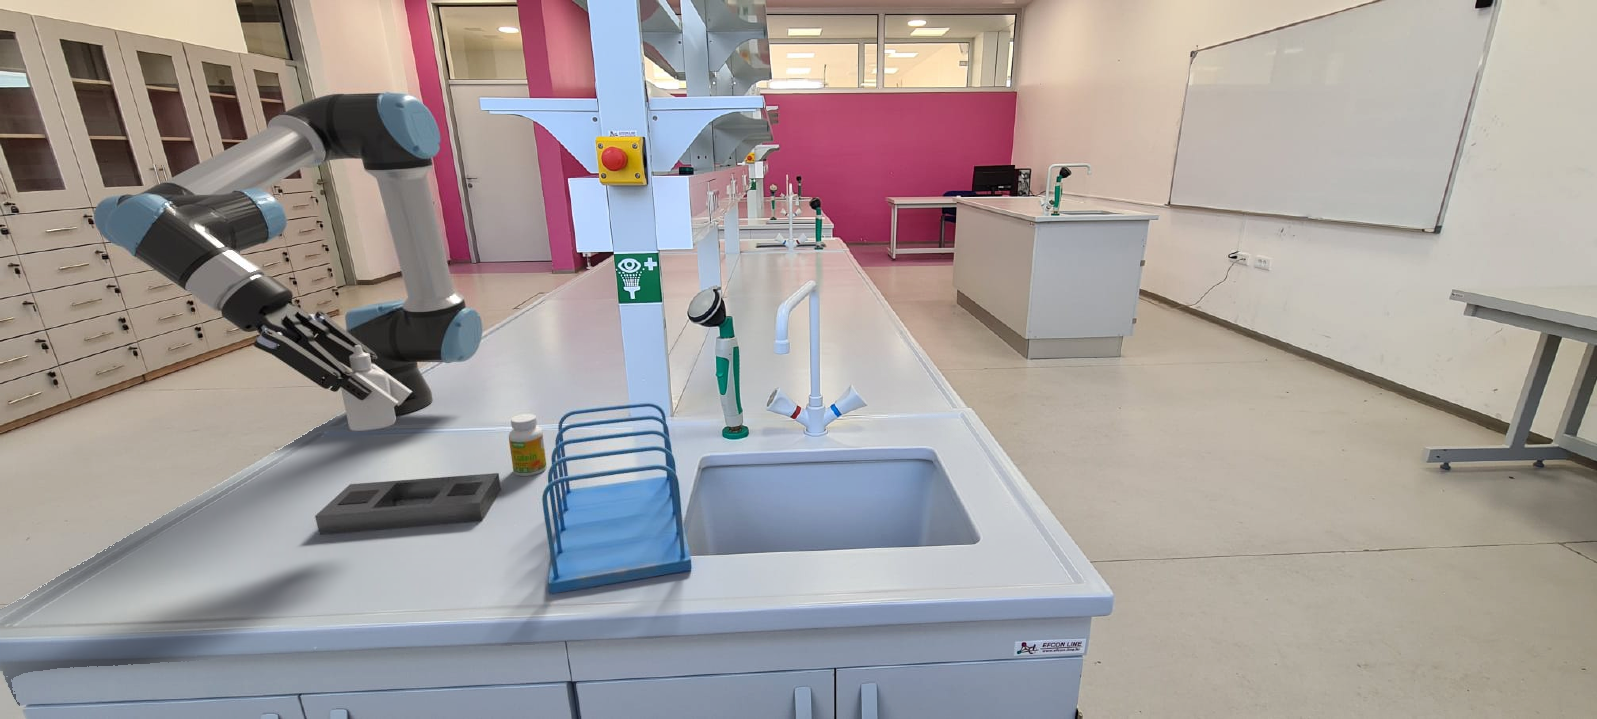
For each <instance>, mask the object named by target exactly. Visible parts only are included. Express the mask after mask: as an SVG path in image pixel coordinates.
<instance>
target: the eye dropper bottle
mask: <svg viewBox="0 0 1597 719" xmlns="http://www.w3.org/2000/svg"><path fill="white" fill-rule="evenodd" d="M349 359H350V364H351V368H350V369H351V371H350V372H351V373H352V375H351V377H352V376H353V375H354V374H355V373H356V372H358V373H359V374H361V375H362V376H364V377H365V378H366V379H368V380H369V381H371V382H372V383H373V384H375V385H376V386H378V387H379V388H380V389H382V390H383V391H385V392H386V393H387V394H389V395H390V396H392V395H391V390H390V385H389V380H388V376H387V374H386V373H385V372H384V371H381V370H376V369H372V363H371V358H370V354H368V353H365V352H363V350H362V348H361V346H360V345H356V346H354V354H353V355H351V356H350V357H349ZM340 390H341V395H342V400H343V405H344V409H345V414H346V419H347V424H348V428H349V429H350V431H352V432H353V431H356V432H357V431H361V432H362V431H371V430H372V431H373V430H378V429H383V428H387V427H391V426H392V425H394V424H395V422H396V421H397V420H396V419H397V417H396V416H397V415H395V411H394V408H393V409H392V410H391V411H390V412H389V413H388V414H387V415H386V416H385V417H384V416H382V415H381V414H379V413H378V412H376V411H375V410H374V409H372V408H371V407H369V406H368V405H366V404H365V403H364V402H362V401H361V400H359V399H358V398H356V397H355V396H353V395H352V394H350V393H349V392H348V391H346V390H345V389H343V388H342V387H340Z"/></svg>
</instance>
